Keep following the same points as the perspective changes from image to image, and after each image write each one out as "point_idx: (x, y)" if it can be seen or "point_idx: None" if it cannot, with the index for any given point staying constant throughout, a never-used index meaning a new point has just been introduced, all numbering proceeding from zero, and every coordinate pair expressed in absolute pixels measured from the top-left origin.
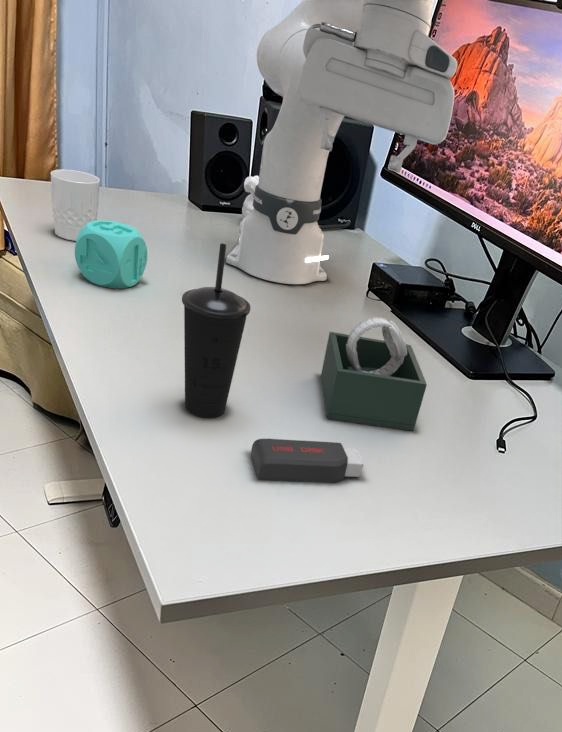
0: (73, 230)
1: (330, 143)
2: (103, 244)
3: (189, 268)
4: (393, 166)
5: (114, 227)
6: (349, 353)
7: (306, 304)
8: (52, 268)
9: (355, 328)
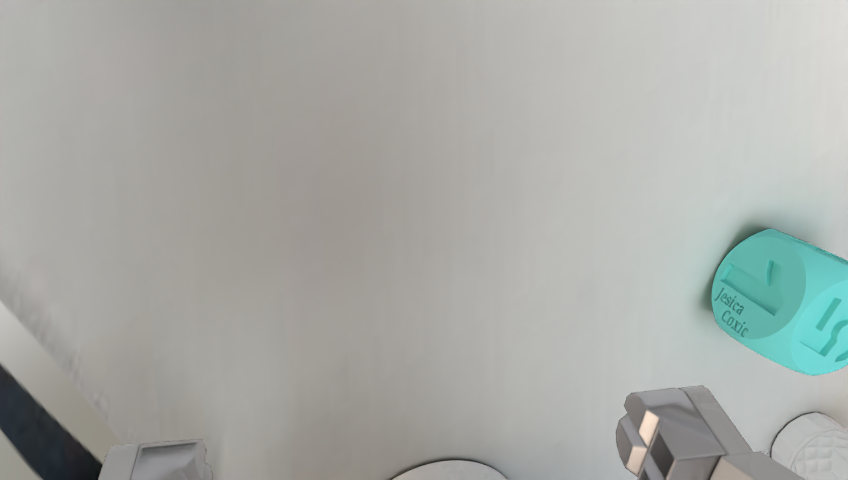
0: (821, 426)
1: (668, 417)
2: (844, 263)
3: (611, 424)
4: (170, 452)
5: (830, 344)
6: None
7: (362, 389)
8: None
9: None
